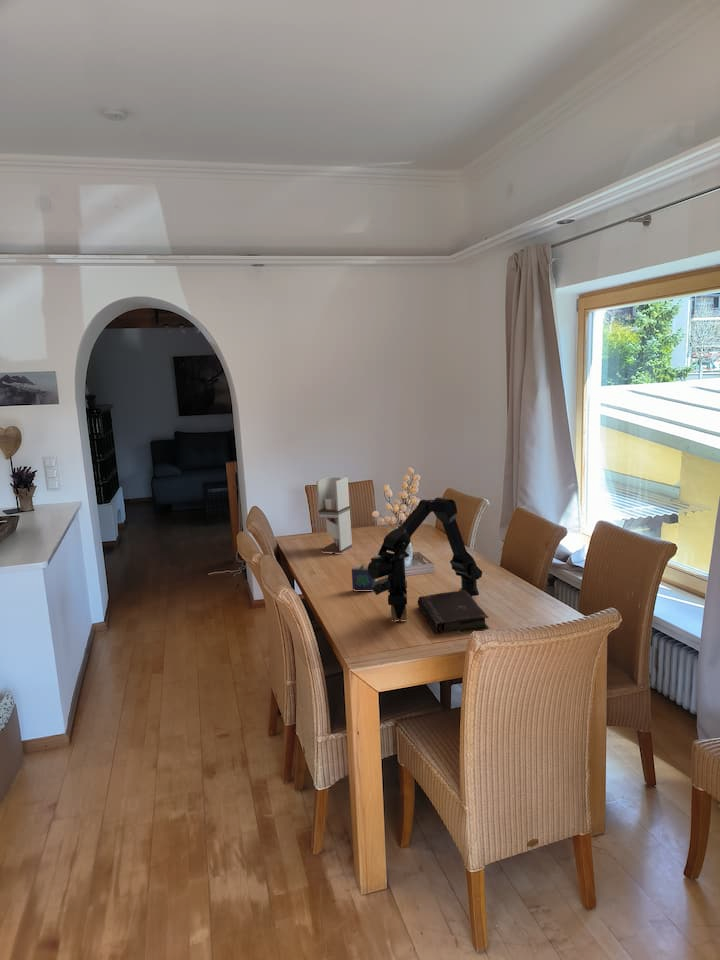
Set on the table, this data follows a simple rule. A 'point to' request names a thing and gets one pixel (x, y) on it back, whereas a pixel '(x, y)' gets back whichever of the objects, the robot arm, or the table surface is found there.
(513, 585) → the table surface
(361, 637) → the table surface
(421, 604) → the diary
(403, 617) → the metal block
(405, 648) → the table surface
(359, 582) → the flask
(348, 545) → the display case
